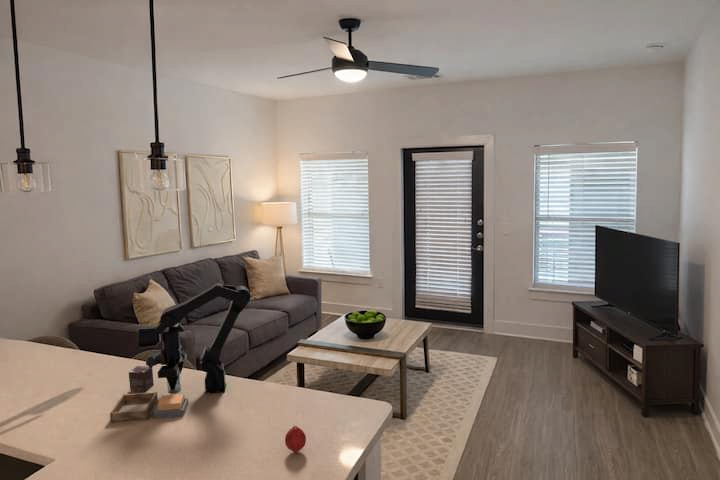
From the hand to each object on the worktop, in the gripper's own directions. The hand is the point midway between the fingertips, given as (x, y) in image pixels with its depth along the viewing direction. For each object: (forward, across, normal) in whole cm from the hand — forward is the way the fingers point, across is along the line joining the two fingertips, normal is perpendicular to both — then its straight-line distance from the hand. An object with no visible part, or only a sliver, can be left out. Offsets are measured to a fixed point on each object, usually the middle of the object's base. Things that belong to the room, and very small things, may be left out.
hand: (174, 387), depth 180 cm
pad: (+1, +13, +2) cm, 13 cm away
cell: (+2, 0, 0) cm, 2 cm away
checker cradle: (+3, +12, +2) cm, 13 cm away
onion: (+3, +45, +41) cm, 61 cm away
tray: (+3, +10, -10) cm, 15 cm away
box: (+3, -8, -13) cm, 16 cm away
